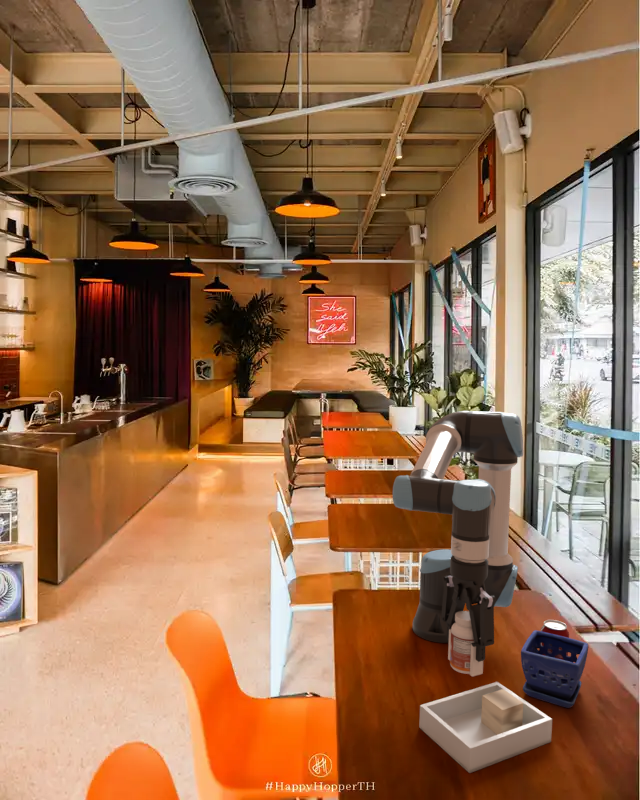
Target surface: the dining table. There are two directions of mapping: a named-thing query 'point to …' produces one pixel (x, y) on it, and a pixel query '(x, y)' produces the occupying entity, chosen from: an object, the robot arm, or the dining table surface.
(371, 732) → the dining table surface
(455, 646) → the pill bottle
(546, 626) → the soda can
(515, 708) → the beech cube
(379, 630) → the dining table surface
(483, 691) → the tote
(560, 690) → the flower pot
